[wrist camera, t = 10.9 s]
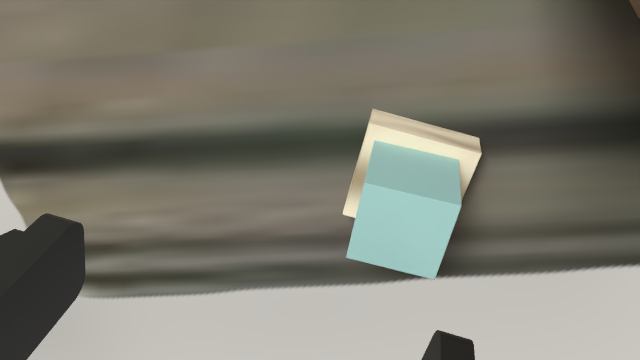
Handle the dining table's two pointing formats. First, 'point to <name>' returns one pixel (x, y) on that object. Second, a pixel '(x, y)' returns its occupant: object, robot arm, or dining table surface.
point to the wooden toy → (636, 6)
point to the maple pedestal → (416, 138)
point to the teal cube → (406, 210)
